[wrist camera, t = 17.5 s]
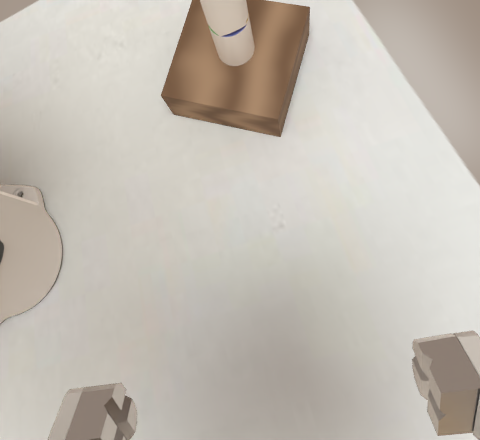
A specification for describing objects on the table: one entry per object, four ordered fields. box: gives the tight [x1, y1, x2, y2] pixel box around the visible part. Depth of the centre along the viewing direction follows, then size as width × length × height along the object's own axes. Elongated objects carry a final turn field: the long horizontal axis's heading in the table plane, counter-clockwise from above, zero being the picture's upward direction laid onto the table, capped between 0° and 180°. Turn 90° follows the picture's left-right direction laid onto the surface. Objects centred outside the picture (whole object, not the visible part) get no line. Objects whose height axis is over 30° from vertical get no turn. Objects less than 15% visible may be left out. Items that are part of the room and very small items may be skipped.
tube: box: [200, 0, 255, 66], centre depth 40 cm, size 4×4×15 cm
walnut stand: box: [161, 0, 310, 137], centre depth 50 cm, size 14×14×5 cm
